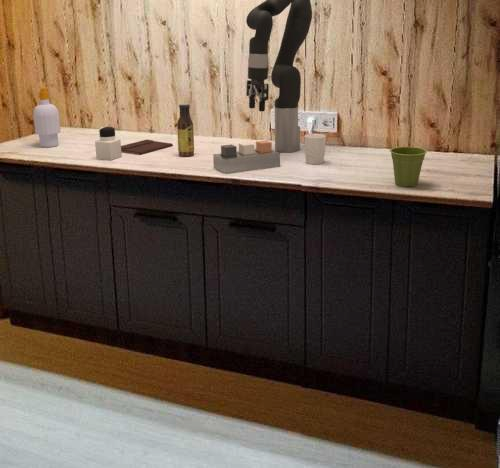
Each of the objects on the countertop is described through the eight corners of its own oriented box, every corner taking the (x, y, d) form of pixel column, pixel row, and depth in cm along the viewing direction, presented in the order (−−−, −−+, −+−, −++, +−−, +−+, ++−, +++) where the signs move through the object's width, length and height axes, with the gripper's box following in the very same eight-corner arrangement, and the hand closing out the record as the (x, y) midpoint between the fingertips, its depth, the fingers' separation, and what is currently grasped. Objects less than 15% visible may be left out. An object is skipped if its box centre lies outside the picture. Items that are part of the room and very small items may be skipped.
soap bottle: (67, 144, 311) (61, 87, 303) (48, 149, 303) (42, 90, 295) (50, 142, 316) (44, 86, 308) (31, 146, 308) (24, 89, 300)
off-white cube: (249, 151, 267) (249, 142, 266) (254, 154, 263) (254, 144, 262) (238, 153, 265) (238, 143, 264) (243, 155, 262) (243, 145, 261)
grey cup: (327, 160, 273) (328, 134, 270) (322, 165, 266) (323, 138, 263) (307, 159, 276) (307, 133, 272) (301, 164, 269) (301, 137, 265)
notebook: (172, 147, 304) (172, 142, 303) (139, 156, 289) (139, 151, 288) (146, 143, 312) (146, 139, 312) (112, 152, 297) (112, 147, 296)
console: (267, 160, 275) (267, 147, 273) (280, 166, 266) (280, 152, 264) (213, 167, 266) (213, 154, 264) (224, 173, 257) (224, 159, 256)
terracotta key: (266, 149, 270) (266, 140, 269) (271, 151, 266) (271, 142, 265) (256, 151, 268) (256, 141, 267) (261, 153, 264) (261, 143, 263)
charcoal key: (231, 153, 264) (231, 144, 263) (236, 156, 261) (236, 146, 259) (221, 155, 262) (220, 145, 261) (225, 157, 259) (225, 147, 258)
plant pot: (384, 187, 236) (386, 153, 232) (391, 178, 246) (393, 145, 243) (422, 190, 232) (424, 155, 228) (427, 181, 242) (429, 147, 238)
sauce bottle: (191, 157, 283) (189, 105, 277) (176, 156, 284) (173, 105, 278) (196, 153, 289) (194, 103, 283) (181, 153, 290) (178, 103, 284)
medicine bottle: (122, 156, 287) (119, 126, 283) (111, 160, 280) (108, 129, 277) (107, 155, 289) (104, 125, 286) (96, 159, 283) (93, 128, 279)
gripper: (275, 67, 268) (274, 112, 273) (258, 64, 280) (257, 106, 285) (257, 68, 265) (256, 112, 270) (241, 64, 277) (239, 107, 282)
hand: (256, 109), depth 278 cm, fingers open, 8 cm apart
